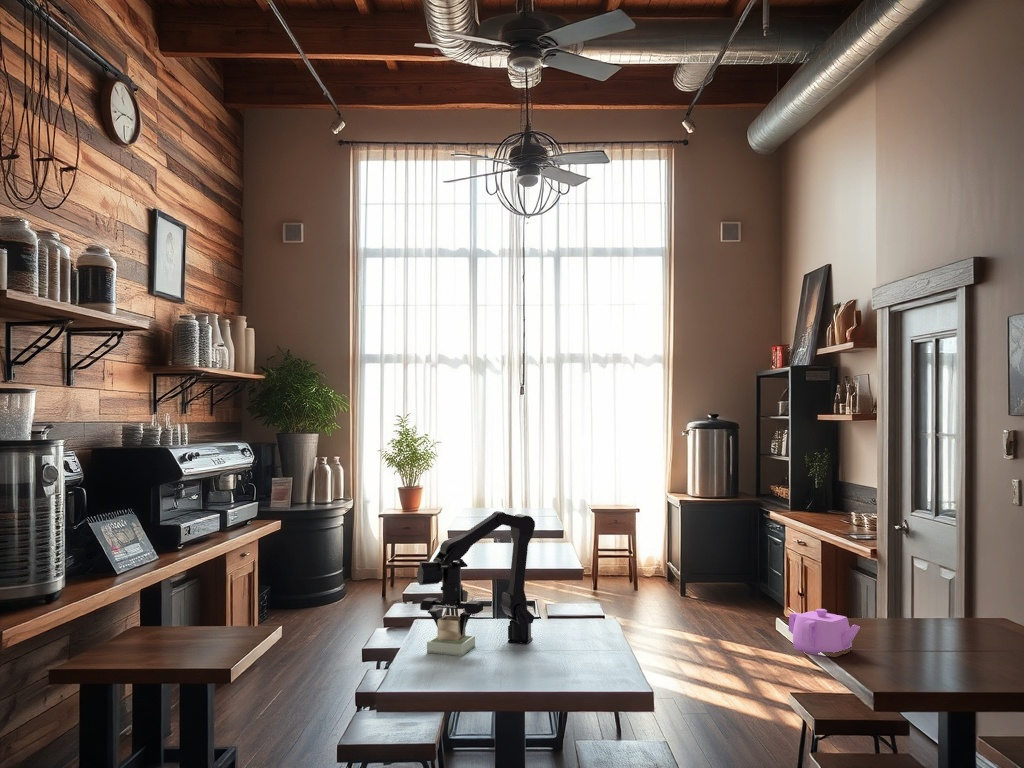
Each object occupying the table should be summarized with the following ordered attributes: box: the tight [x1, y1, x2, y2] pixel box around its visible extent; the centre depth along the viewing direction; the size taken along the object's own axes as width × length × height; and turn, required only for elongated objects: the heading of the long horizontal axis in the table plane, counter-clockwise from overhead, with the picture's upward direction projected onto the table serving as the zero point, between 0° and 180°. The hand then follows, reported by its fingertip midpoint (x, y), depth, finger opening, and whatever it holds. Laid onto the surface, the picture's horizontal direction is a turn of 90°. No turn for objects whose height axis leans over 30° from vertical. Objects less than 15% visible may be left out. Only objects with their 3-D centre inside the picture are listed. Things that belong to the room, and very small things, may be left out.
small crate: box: [437, 614, 466, 642], centre depth 249 cm, size 6×6×6 cm
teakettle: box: [788, 608, 861, 656], centre depth 247 cm, size 17×17×12 cm
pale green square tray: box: [426, 634, 476, 657], centre depth 249 cm, size 11×11×3 cm
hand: (451, 634), depth 249 cm, fingers closed on small crate, 6 cm apart
